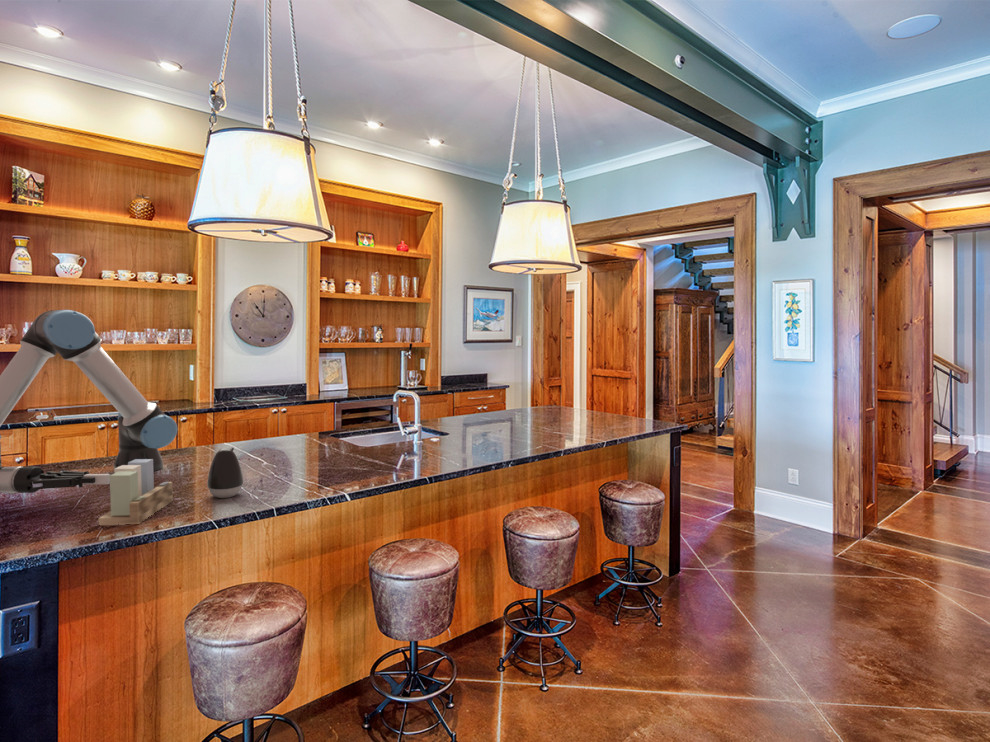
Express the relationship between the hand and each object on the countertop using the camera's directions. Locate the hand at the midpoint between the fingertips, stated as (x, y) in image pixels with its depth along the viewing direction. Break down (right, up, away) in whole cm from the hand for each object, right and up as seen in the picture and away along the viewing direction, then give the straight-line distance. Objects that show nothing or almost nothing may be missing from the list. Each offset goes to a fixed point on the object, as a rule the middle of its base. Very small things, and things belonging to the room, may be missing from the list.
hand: (108, 479), depth 161 cm
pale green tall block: (+13, -7, -12) cm, 19 cm away
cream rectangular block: (+9, -6, -5) cm, 12 cm away
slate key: (+8, -6, +2) cm, 10 cm away
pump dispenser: (+28, -8, +12) cm, 32 cm away
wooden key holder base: (+12, -9, -5) cm, 15 cm away
